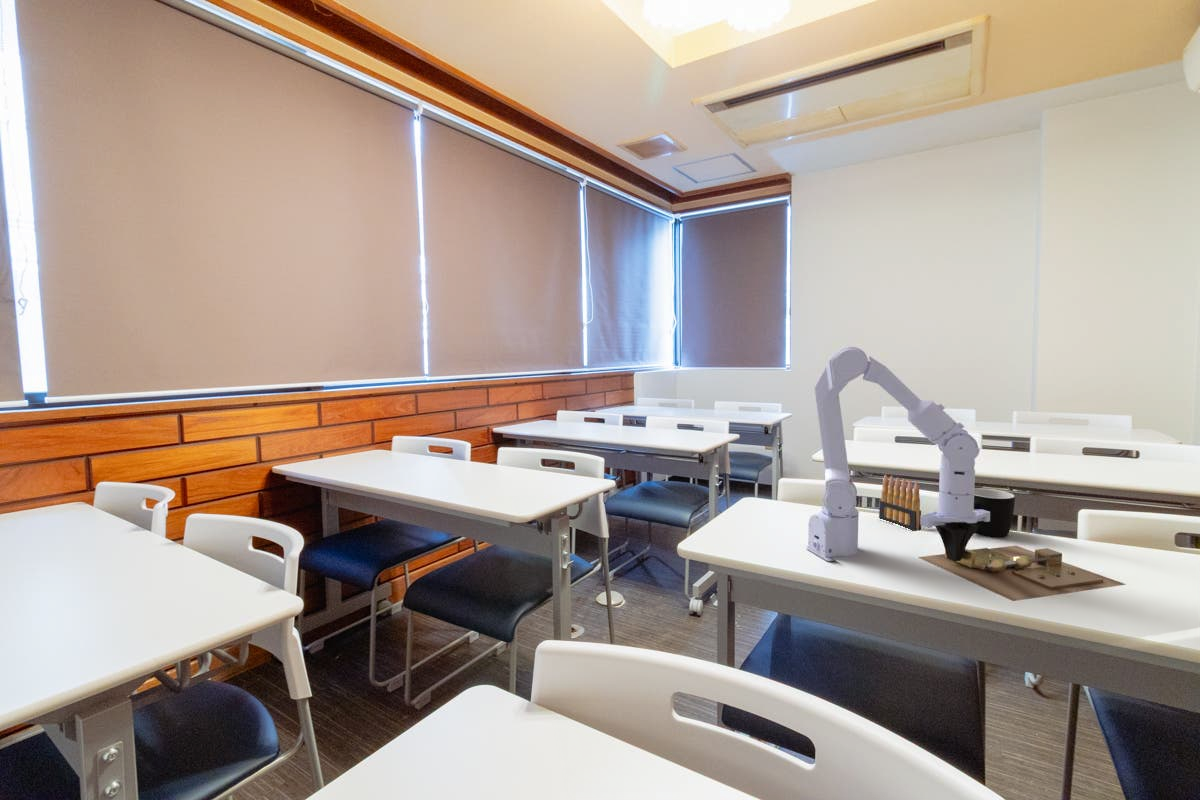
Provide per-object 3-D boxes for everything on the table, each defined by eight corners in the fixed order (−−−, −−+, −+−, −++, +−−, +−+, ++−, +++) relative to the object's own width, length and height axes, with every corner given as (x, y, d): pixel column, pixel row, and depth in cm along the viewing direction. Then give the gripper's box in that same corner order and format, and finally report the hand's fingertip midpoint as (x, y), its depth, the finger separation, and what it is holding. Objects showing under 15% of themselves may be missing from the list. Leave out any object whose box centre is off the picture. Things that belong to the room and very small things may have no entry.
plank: (1012, 605, 90) (1013, 600, 89) (917, 560, 109) (918, 557, 109) (1125, 588, 95) (1125, 584, 95) (1015, 549, 114) (1016, 545, 114)
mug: (983, 527, 128) (985, 486, 127) (1022, 539, 120) (1024, 496, 119) (945, 533, 125) (947, 491, 124) (983, 546, 116) (985, 501, 115)
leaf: (1001, 548, 112) (1002, 535, 112) (1050, 566, 102) (1050, 551, 102) (943, 555, 109) (943, 541, 108) (987, 574, 99) (988, 559, 99)
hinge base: (1046, 561, 105) (1047, 548, 105) (1103, 582, 96) (1104, 567, 95) (997, 568, 103) (997, 554, 102) (1050, 590, 93) (1051, 574, 93)
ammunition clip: (921, 531, 127) (923, 482, 126) (915, 532, 126) (917, 483, 125) (884, 518, 137) (885, 473, 136) (878, 519, 136) (879, 473, 135)
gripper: (942, 499, 98) (940, 570, 99) (1006, 493, 101) (1003, 562, 102) (912, 490, 105) (910, 557, 106) (972, 485, 108) (970, 550, 109)
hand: (953, 559), depth 105 cm, fingers closed
